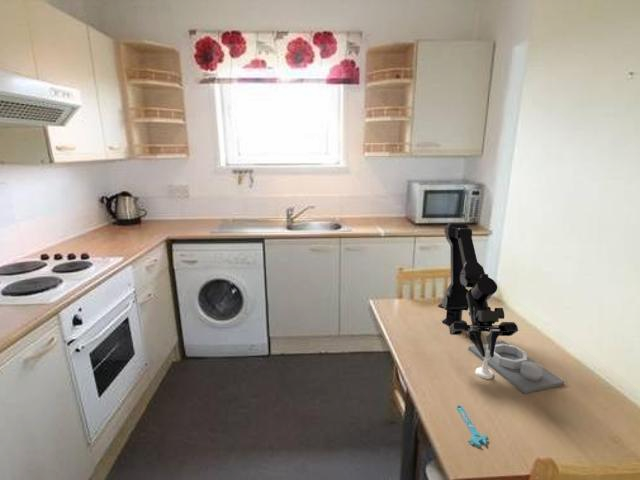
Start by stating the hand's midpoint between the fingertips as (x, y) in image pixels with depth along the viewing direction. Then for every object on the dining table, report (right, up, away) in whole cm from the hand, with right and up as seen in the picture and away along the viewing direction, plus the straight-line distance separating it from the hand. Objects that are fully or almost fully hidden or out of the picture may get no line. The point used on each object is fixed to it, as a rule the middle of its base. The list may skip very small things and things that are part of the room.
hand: (488, 357), depth 108 cm
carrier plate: (+11, -5, +7) cm, 14 cm away
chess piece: (0, -6, +3) cm, 7 cm away
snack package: (+6, +6, +52) cm, 53 cm away
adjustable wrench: (-13, -12, -17) cm, 24 cm away
